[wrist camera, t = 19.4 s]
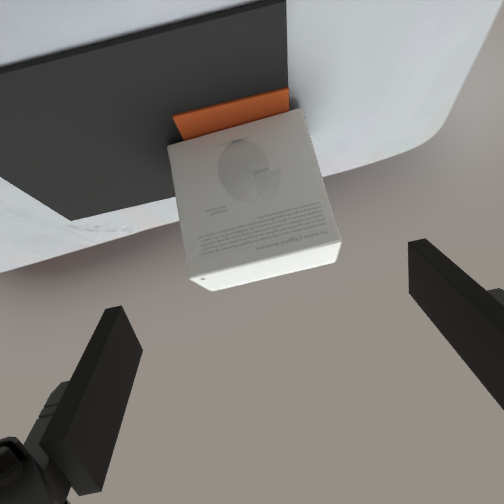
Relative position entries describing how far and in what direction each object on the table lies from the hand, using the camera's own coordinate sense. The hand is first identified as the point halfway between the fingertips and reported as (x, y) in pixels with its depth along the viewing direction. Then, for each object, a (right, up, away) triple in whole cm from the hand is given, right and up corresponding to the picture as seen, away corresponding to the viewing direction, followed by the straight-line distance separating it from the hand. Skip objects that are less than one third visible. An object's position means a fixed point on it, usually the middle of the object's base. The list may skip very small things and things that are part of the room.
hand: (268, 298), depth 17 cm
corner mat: (-9, +10, +11) cm, 17 cm away
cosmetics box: (-2, +11, +13) cm, 17 cm away
